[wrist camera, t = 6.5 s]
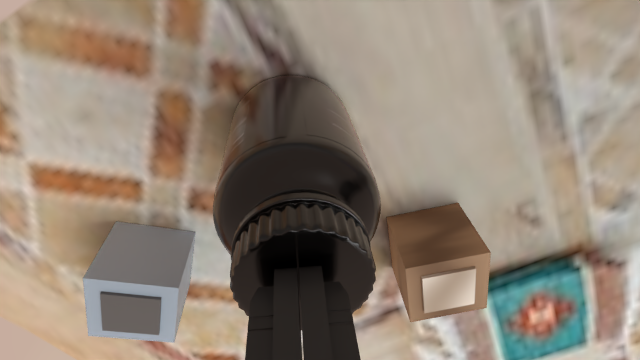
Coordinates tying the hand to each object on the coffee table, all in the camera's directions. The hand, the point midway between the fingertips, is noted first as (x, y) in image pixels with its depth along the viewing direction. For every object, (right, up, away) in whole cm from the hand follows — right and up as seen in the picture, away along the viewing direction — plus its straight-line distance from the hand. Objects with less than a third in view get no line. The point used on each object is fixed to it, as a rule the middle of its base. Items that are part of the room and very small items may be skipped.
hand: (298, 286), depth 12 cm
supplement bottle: (-1, +6, +10) cm, 12 cm away
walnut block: (+8, -1, +16) cm, 18 cm away
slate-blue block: (-11, -2, +14) cm, 18 cm away
